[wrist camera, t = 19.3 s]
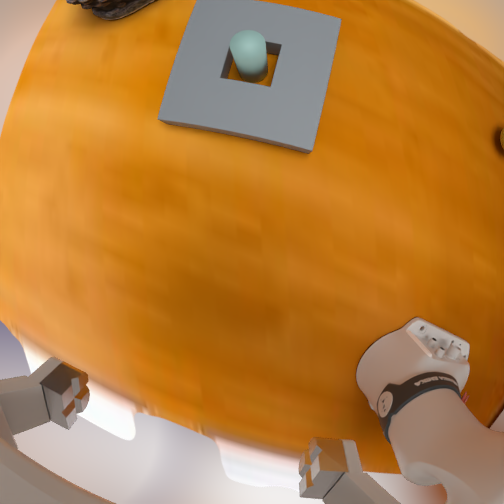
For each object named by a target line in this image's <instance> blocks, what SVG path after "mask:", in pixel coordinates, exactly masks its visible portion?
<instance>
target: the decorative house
mask: <svg viewBox="0 0 504 504" xmlns="http://www.w3.org/2000/svg"><path fill="white" fill-rule="evenodd" d="M66 1H67V3H69V4H73V5H76V4H81V6H82V8H84V9H91V8H92V11H93V14H94V15H96V16H98V17H100V18H103V19H108V20H113V19H117V18H122V17H124V16H126V15H128V14H131V13H133V12H135V11H136V10H138V9H140V8H142V7H144V6H145V5H147V4H148V3H151V2H153V1H154V0H66Z"/></svg>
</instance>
